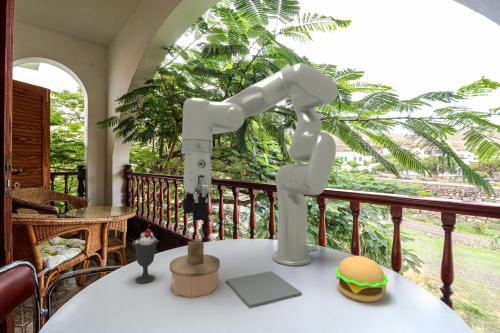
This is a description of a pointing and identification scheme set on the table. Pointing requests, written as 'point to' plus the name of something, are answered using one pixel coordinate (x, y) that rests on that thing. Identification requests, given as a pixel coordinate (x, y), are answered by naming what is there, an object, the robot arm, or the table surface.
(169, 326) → the table surface
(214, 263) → the lid
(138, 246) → the sundae
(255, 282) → the mat
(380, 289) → the hamburger
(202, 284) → the bowl
